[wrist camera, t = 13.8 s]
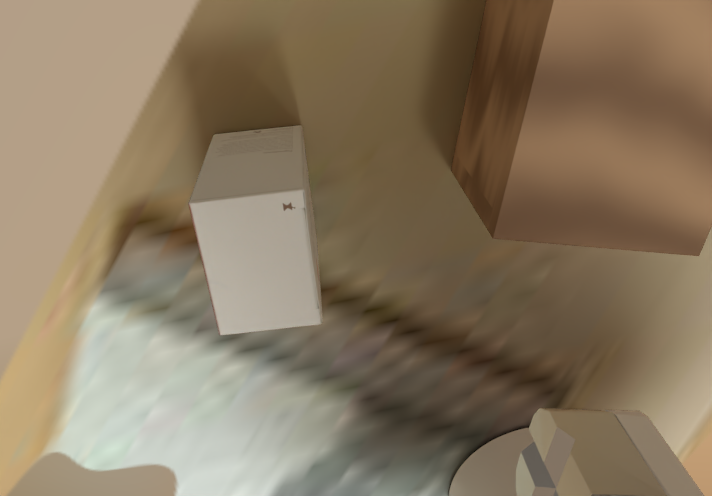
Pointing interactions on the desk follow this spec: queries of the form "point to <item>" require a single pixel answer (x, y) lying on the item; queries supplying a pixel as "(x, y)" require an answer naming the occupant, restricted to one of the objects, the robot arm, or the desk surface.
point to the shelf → (591, 123)
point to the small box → (258, 231)
